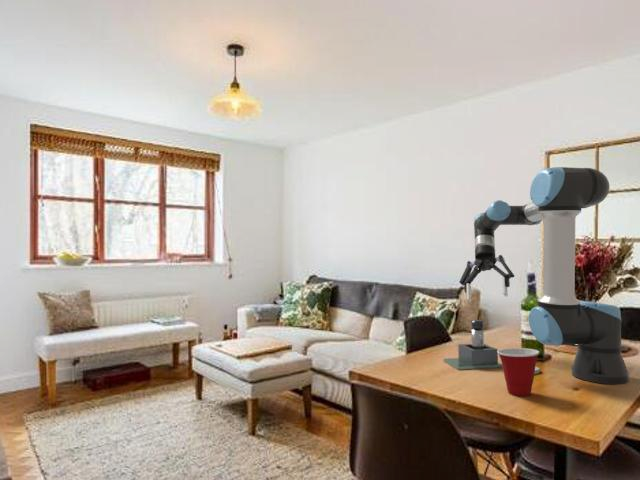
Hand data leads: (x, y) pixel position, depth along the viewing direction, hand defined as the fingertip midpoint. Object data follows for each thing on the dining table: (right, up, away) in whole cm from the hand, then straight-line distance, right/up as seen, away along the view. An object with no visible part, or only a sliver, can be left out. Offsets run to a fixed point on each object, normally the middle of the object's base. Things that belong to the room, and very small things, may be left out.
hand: (486, 297), depth 169 cm
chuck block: (-9, -22, -12) cm, 26 cm away
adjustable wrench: (0, -22, -28) cm, 36 cm away
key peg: (-7, -21, -12) cm, 25 cm away
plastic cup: (-7, -21, -43) cm, 48 cm away
